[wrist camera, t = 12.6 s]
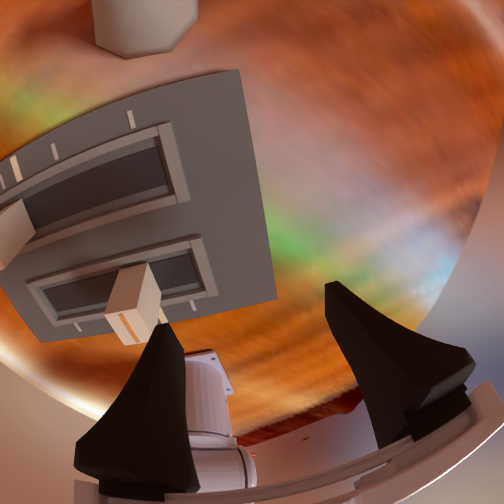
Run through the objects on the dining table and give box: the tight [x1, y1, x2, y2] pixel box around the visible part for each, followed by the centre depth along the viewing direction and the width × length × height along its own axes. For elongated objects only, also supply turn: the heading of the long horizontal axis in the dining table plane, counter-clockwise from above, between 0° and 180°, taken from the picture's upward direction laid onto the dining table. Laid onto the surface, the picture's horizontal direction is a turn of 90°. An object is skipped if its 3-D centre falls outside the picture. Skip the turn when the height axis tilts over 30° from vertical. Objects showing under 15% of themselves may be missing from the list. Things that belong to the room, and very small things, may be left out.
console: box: [0, 69, 277, 342], centre depth 18 cm, size 18×26×2 cm
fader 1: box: [0, 199, 36, 271], centre depth 13 cm, size 3×2×5 cm
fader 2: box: [104, 263, 161, 345], centre depth 18 cm, size 3×2×5 cm
